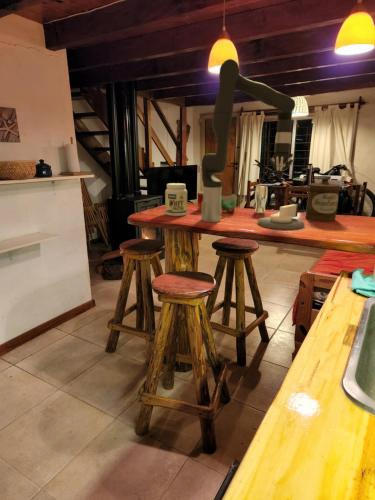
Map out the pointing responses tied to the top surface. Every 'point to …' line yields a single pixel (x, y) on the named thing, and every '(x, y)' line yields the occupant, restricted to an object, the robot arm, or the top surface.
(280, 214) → the dial lever
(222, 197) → the food container
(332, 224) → the top surface
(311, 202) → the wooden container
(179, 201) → the supplement tub
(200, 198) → the canned food
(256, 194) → the beer glass
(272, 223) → the dial base
